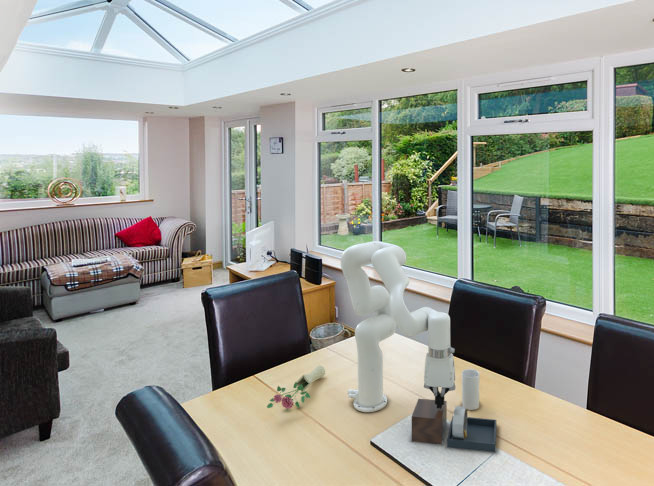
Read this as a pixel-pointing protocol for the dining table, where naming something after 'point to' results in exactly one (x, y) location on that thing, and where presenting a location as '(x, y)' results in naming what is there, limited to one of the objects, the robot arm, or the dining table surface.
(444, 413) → the block
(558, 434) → the dining table surface
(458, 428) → the bowl
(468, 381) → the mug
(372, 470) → the dining table surface
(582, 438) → the dining table surface
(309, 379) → the flower vase
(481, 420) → the tray
